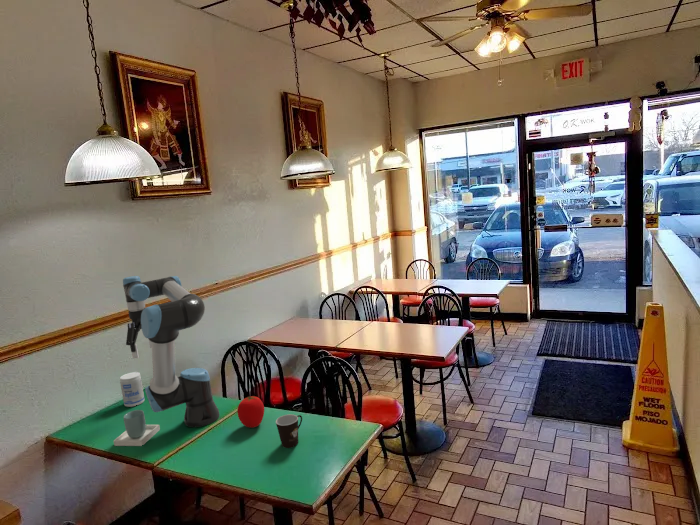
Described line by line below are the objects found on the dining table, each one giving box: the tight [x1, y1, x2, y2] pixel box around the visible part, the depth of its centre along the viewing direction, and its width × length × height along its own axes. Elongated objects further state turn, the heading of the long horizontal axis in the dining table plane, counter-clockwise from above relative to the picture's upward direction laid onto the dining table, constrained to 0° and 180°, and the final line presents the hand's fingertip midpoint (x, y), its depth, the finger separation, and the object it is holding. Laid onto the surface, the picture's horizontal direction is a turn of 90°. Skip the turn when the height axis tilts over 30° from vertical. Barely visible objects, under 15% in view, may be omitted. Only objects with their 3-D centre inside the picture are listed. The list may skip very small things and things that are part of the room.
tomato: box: [236, 395, 265, 429], centre depth 203 cm, size 11×11×13 cm
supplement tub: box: [119, 371, 145, 408], centre depth 240 cm, size 10×10×15 cm
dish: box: [113, 424, 161, 447], centre depth 205 cm, size 13×13×2 cm
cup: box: [123, 409, 147, 438], centre depth 204 cm, size 8×8×10 cm
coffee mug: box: [275, 413, 303, 449], centre depth 187 cm, size 12×9×10 cm
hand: (144, 352), depth 227 cm, fingers open, 13 cm apart
